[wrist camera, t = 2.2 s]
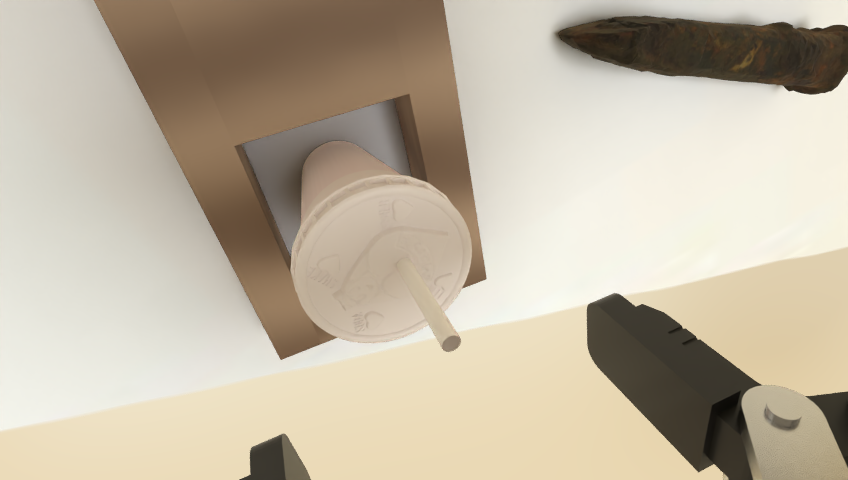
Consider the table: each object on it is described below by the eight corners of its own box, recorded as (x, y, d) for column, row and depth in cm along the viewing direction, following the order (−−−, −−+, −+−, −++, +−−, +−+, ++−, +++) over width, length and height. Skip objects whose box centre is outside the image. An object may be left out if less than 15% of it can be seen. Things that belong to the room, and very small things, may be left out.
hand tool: (806, 24, 30) (889, 29, 26) (777, 88, 32) (852, 101, 28) (565, -26, 23) (630, -30, 20) (546, 58, 25) (602, 70, 21)
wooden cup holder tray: (-190, -611, 11) (-327, -804, 8) (309, -608, 13) (328, -760, 10) (276, 325, 27) (281, 362, 24) (465, 253, 29) (488, 280, 26)
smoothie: (417, 190, 26) (563, 357, 14) (319, 252, 26) (387, 473, 14) (359, 87, 22) (493, 199, 11) (245, 158, 22) (254, 351, 10)
